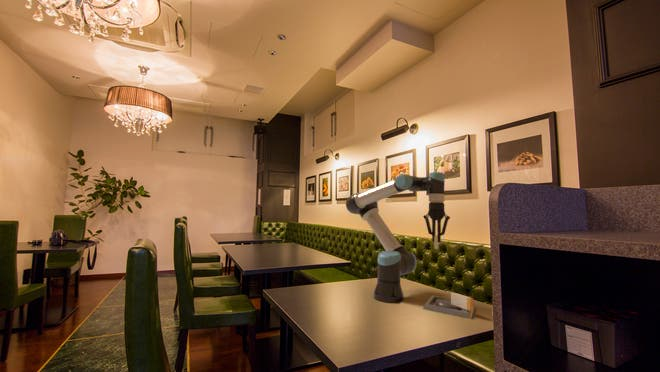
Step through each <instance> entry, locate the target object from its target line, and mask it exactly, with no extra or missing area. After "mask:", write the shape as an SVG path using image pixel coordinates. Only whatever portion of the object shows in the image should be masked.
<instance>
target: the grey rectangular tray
mask: <svg viewBox="0 0 660 372" xmlns="http://www.w3.org/2000/svg"><path fill="white" fill-rule="evenodd" d="M437 299H449V300H451V297H450V298H449V297H443V296H437V295H431V296H430V297H429V298H428V300H427V301H426V302H425V303H424V304H423V307H421V309H422V310H426V311H430V312H435V313H440V314H445V315H449V316H450V315H452V316H455V317H460V318H465V319H470V320H471V319H472V317H473V313H474V309H475V306H473V310H472V311H469V310H466V309H463V308H462V311H460V310H455V309H449V308H444V307H439V306H436V300H437Z"/></svg>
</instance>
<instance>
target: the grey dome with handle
mask: <svg viewBox="0 0 660 372" xmlns="http://www.w3.org/2000/svg"><path fill="white" fill-rule="evenodd" d="M450 299H451V300H449V299H437V300H436V306H439V307H444V308H449V309H455V310H460V311H462V308H463V309H466V310H469V311H472V310H473V307H474V305H473V303H474V298H473V297H470V296H466V295H463V294H460V293H456V292H451V293H450ZM473 311H474V310H473Z"/></svg>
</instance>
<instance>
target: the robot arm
mask: <svg viewBox="0 0 660 372" xmlns="http://www.w3.org/2000/svg"><path fill="white" fill-rule="evenodd" d="M445 182H446V181H445V174H444V172H440V171H438V172H437V171H436V172H435V171H434V172H429V174H428V176H423V177H421V176H414V175H410V174H407V173H402V174H401V173H400V174H399V175H397V176H396V177H395V179H392V180H390V181H387V182H385V183H383V184H380V185H378V186H375V187H373V188H371V189H368V190H366V191H363V192H356V193H354V194H352V195H349V196H348V198H347V199H346V202H345V207H346V209H347V211H348V212H349V213H351V214H353V215H359V216H360V217H361V219H362V220H363V221H365V222H366V223H367V224H368V225H369V226H370V229H371V230H372V231H373V233H374V235H375V237H376V238H377V240H378V241H379V243H380V244H381V245H382V247H383V249H384V250H385V251H380V252H379V253H378V255H377V281H376V285H375V288H374V291H373V298H374V299H375V300H377V301H379V302H383V303H394V304H395V303H397V304H398V303H401V302H402V303H403V301H404V297H405V296H404V292H403V289H402V285H401V276H405V275H409V274H411V273H413V272H414V271H415V270H416V268H417V266H418V265H417V263H418V260H417V257H416V255H415V254H414V253H413V252H411V251H408V249H407V248H406V247H405V245H402V244H400V243H399V241H398V240H397V238H396V237H395V236H394V234H393V232H392V231H391V229H390V228H389V227H388V225H387V224H386V223H385V221H384V219H383V218H382V217H381V215H380V214H379V212H380V211H379V207H378V206H379V204H378V202H379V201H381V200H384V199H386V198H389V197H391V196H395V195H397V194H399V193H403V192H405V191H409V192H412V193H413V192H414V193H415V192H428V211H427V213H426V214H425V215H423V218H424V220H425V224H426V228H427V231H428V234H429V235H431V239H432V242H433V243H434V244H433V246H434V249H435V250H439V243H441V242H442V241H441V239H442V238H441V237H442V236H444V235H445V233H446V230H447V225H448V222H449V220H450V219H451V217H450V216H449V215H448V214H447V213H446V211H445ZM429 218H430V219H431V224H430V219H429ZM442 219H444V222H443V226H442ZM436 222H437V224H436ZM436 225H437V227H436ZM436 228H437V230H436ZM436 231H437V234H436Z"/></svg>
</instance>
